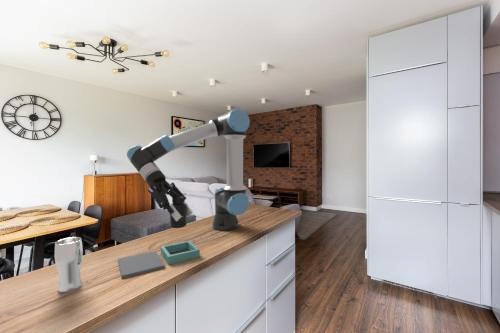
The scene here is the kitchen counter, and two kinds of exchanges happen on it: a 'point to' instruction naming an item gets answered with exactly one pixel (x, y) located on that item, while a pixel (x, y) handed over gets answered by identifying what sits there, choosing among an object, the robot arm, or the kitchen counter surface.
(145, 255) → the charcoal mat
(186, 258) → the teal collar
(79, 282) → the beer glass
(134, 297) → the kitchen counter surface
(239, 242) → the kitchen counter surface
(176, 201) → the supplement bottle
